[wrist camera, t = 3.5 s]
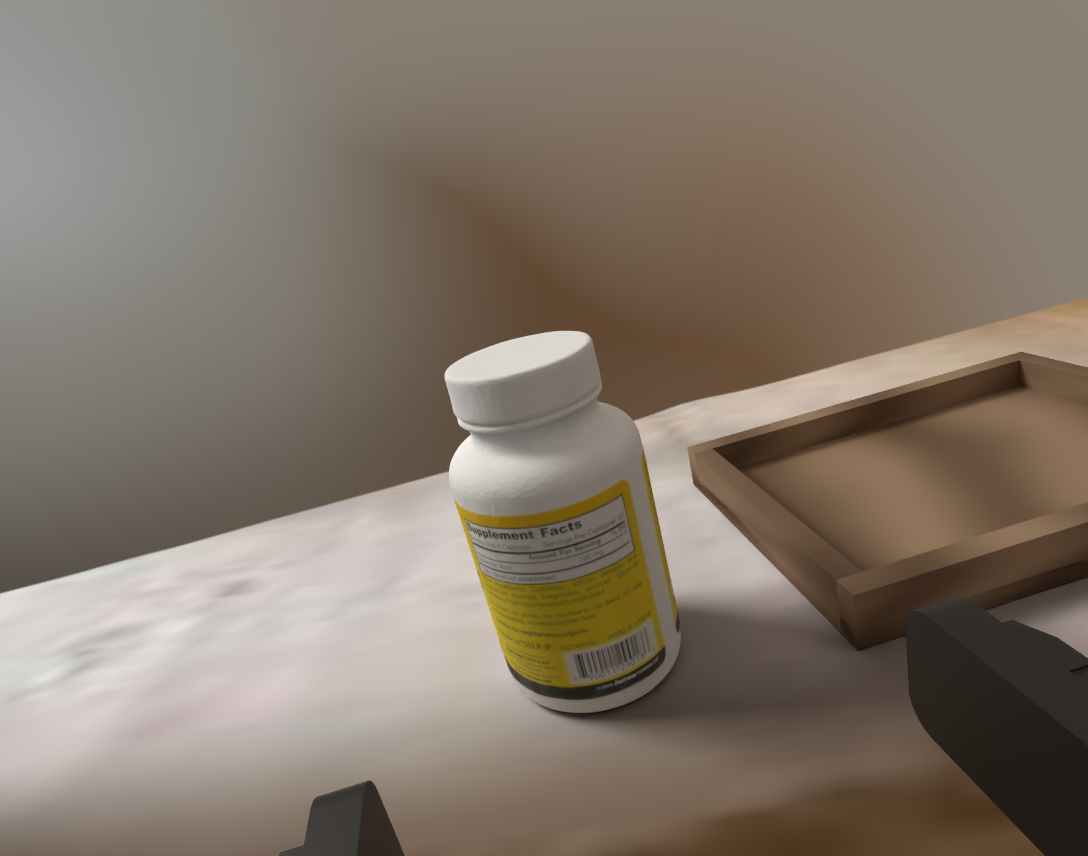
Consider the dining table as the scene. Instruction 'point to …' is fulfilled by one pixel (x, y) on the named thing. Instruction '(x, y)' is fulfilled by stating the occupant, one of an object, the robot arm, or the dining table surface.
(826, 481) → the tray
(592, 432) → the supplement bottle
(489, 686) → the dining table surface
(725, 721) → the dining table surface
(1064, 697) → the robot arm
